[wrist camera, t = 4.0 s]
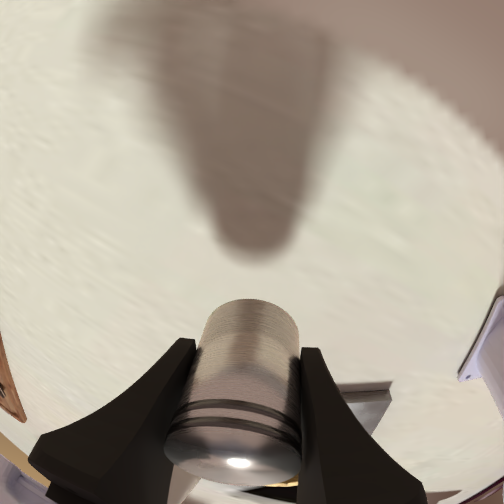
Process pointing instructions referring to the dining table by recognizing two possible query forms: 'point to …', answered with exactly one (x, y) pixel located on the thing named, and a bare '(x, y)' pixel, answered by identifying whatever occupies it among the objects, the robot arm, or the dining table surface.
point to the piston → (241, 399)
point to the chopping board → (9, 389)
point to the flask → (181, 485)
